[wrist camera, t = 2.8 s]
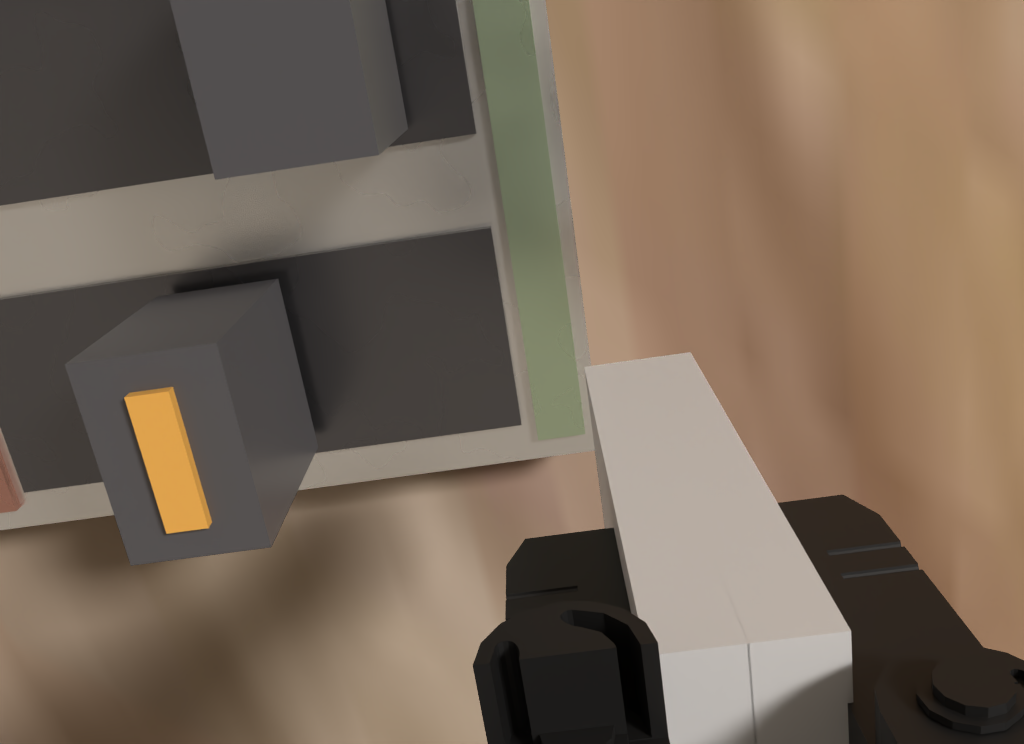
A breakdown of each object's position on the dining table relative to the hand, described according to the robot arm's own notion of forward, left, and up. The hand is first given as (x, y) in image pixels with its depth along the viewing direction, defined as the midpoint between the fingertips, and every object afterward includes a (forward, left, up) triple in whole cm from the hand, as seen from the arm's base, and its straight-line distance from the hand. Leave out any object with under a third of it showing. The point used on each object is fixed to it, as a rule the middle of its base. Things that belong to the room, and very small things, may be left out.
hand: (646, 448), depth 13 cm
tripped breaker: (0, -7, -5) cm, 9 cm away
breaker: (-6, -4, -5) cm, 9 cm away
